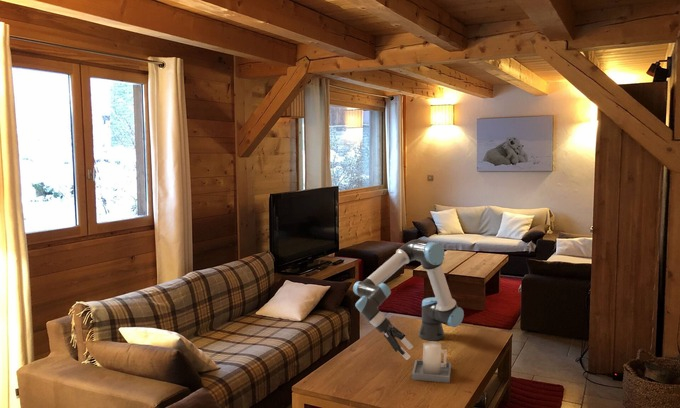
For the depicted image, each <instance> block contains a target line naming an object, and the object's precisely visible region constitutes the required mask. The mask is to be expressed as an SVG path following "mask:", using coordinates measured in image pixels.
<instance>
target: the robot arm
mask: <svg viewBox="0 0 680 408" xmlns="http://www.w3.org/2000/svg"><path fill="white" fill-rule="evenodd" d="M444 260H445V249H444V247H443V246H442V245H441V244H440V243H437V242H434V241H428V240H422V239H412V240H409V241H408V242H406V243H404V244H403V245H401V246H400V247H399V248H398V249H396V250H395V254H393V255H392V256H391V257H389V258H388V259H387V260H385V262H384V263H383V264H382V265H380V266H379V267H378V268H377V269H376V270H375V271H373V272H372V273H371V274H370V275H369V276H368V277H366V278H365V279H364V280H362V281H361V280H359V281H356V282H355V283H354V284H353V287H352V291H353V293H354V294H355V295H356V296H358V297H360V298H359V299H358V300H357V301H356V303H355V305H354V306H355V308H356V309H357V310H358V311H359V313H360V314H361V315H362V316H363V317H365V319H366V320H368V322H369V323H370V325H372V326H373V327H374V328H376V330H377V331H378V332H379V333H384V334H383V337H384V338H385V339H386V340H387V341H388V343H389V345H390V346H391V348H392V349H393V350H394V352H396V353H397V352H398V353H399V354H400V355H401V356H402V357H403V358H404V360H406V361H408V360H409V359H410V358H411V355H410V354H409V353H408V352H407V351H406V350H405V348H403V346H401V345H400V344H399V342H398V340H397V339H399V340H400V342H401V343H402V344H403V345H404V347H406V349H408V350H409V351H410V350H412V349H413V348H414V345H413V344H412V343H411V342H410V341H409V340H408V339H407V338H406V335H405V334H404V332H402V331H401V330H399V329H398V328H397V327H395V326H394V325H393V324H392V322H391V320H389V319H388V317H386V315H385V314H384V313H383V312H381V310H379V307H380V306H381V305H382V304H383V303H384V302H385V301H386V299H388V297H389V296H390V295H391V293H392V291H391V289H390V287H389V286H388V285H387V284H386V283H384V282H386V281H387V280H388V279H389V278H390V277H392V275H394V274H395V273H396V272H397V271H398V270H400V269H401V268H402V267H403V266H404V265H407V264H409V263H410V262H413V261H417V262H420V265H421V267H422V269H424V270H426V273H427V276H428V279H429V281H430V285H431V288H432V291H433V294H434V297H433V296H432V297H426V298H424V299H422V301H421V324H420V326H419V330H418V337H419V338H420V339H422V340H426V341H432V342H436V341H441V340H443V339H444V338H445V331H444V327H443V325H444V326H448V327H451V328H457V327H458V326H460V324H461V323H462V322H463V319H464V316H465V314H464V313H465V312H464V309H463V308H462V307H459V306H458V305H457V301H456V299H454V298H453V297H452V294H451V291H450V289H449V288H450V287H449V285H448V282H447V279H446V275H445V272H444V269H443V267H442V264H443V263H444Z"/></svg>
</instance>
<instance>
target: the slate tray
mask: <svg viewBox="0 0 680 408" xmlns="http://www.w3.org/2000/svg"><path fill="white" fill-rule="evenodd" d="M441 363H444V361H441ZM451 372H452V362H449V361H446V367H441V373H440V374H439V375H431V374H424V373H423V359H415V360H414V365H413V369H412V372H411V380H414V381H422V382H423V381H424V382H433V383H434V382H435V383H447V384H450V383H451V382H450V380H451Z"/></svg>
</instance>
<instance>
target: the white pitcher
mask: <svg viewBox="0 0 680 408" xmlns="http://www.w3.org/2000/svg"><path fill="white" fill-rule="evenodd" d="M442 354H443V362H444V363H441V362H442ZM422 360H423V373H424V374H431V375H439V374H440V373H441V367H446V362H447V349H442V343H440V342H437V341H432V340H429V341H426V342H423V343H422Z"/></svg>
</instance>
